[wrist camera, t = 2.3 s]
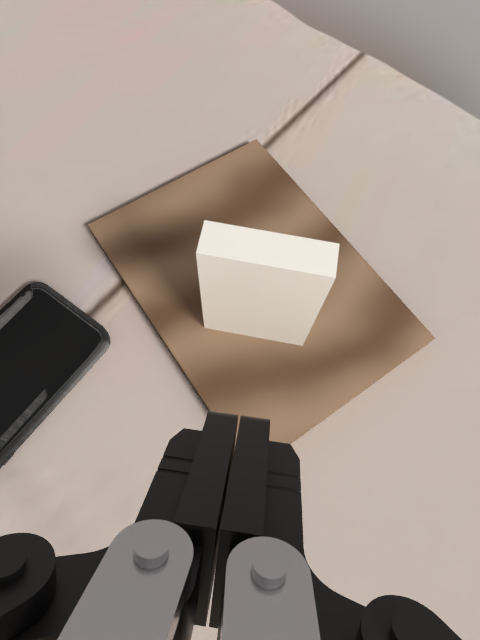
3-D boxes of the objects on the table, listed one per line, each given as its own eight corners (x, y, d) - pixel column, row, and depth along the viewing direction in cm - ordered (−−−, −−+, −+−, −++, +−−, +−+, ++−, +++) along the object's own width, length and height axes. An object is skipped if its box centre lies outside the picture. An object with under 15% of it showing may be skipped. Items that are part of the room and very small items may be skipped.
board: (91, 231, 35) (87, 224, 34) (255, 147, 39) (256, 139, 38) (250, 473, 28) (251, 472, 27) (429, 342, 32) (435, 337, 31)
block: (302, 345, 31) (335, 277, 22) (204, 327, 31) (195, 253, 22) (306, 319, 32) (339, 242, 22) (210, 301, 32) (204, 219, 23)
